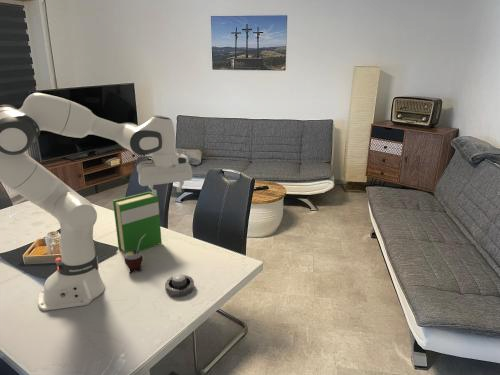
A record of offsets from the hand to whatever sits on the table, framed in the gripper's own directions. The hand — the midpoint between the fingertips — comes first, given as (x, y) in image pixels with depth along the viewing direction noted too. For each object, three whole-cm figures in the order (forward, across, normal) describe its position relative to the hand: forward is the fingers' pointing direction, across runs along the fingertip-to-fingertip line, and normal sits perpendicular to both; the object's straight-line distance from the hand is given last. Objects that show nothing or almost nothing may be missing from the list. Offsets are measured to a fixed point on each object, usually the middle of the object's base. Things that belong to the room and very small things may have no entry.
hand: (167, 193), depth 147 cm
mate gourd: (+33, -14, +5) cm, 36 cm away
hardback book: (+33, -9, +24) cm, 42 cm away
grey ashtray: (+33, -1, -16) cm, 37 cm away
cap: (+32, -1, -16) cm, 36 cm away
